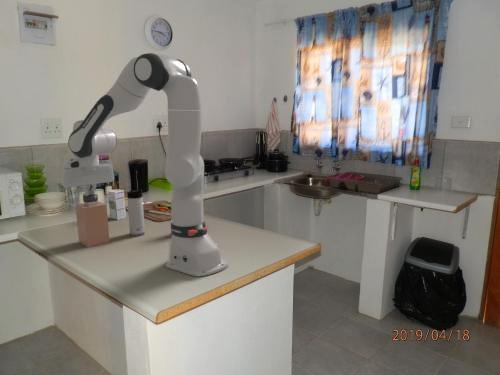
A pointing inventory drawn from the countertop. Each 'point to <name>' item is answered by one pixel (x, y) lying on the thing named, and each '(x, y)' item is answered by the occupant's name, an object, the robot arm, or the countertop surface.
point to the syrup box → (117, 204)
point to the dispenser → (92, 223)
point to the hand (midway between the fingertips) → (90, 195)
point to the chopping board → (157, 211)
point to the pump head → (90, 198)
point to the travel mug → (136, 212)
